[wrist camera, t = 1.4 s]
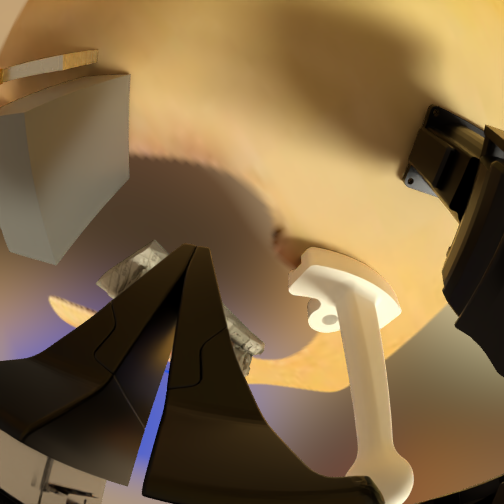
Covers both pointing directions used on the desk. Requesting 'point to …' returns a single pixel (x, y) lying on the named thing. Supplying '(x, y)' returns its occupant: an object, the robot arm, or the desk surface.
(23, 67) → the rack bay
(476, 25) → the desk surface
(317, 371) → the desk surface
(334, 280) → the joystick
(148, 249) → the packaged product
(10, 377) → the robot arm
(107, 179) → the grey rectangular block
